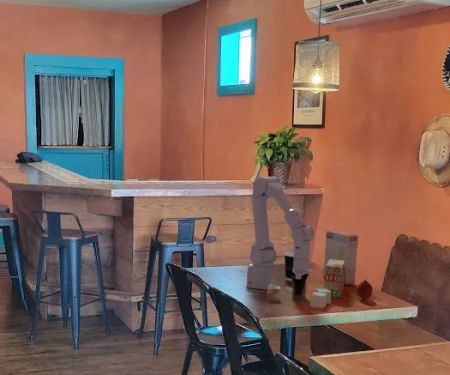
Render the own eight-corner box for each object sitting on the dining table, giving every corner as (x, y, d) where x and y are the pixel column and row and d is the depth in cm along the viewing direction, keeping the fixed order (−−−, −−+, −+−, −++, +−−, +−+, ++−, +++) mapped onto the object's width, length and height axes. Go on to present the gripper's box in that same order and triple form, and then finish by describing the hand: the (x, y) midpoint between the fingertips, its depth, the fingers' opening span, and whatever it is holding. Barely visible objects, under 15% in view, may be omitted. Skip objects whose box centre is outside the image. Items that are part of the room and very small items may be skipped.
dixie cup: (297, 277, 264) (299, 252, 263) (303, 282, 256) (305, 256, 255) (279, 277, 262) (281, 252, 261) (285, 282, 254) (287, 256, 253)
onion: (372, 298, 236) (374, 278, 235) (371, 302, 230) (372, 281, 230) (357, 296, 238) (358, 276, 237) (355, 300, 232) (356, 279, 232)
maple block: (267, 300, 227) (267, 288, 226) (266, 297, 231) (267, 285, 231) (279, 301, 226) (280, 289, 226) (278, 297, 231) (279, 286, 231)
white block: (310, 306, 222) (311, 294, 221) (314, 303, 226) (315, 291, 225) (322, 308, 220) (323, 296, 219) (326, 305, 224) (327, 293, 223)
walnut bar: (292, 298, 230) (293, 283, 229) (293, 295, 234) (294, 280, 234) (304, 300, 229) (305, 284, 228) (305, 297, 233) (306, 281, 233)
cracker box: (355, 284, 256) (359, 235, 254) (344, 285, 253) (348, 235, 251) (333, 276, 268) (336, 229, 266) (322, 277, 265) (325, 229, 263)
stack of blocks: (329, 283, 256) (331, 254, 255) (344, 285, 255) (346, 256, 254) (323, 296, 236) (325, 264, 235) (340, 298, 234) (342, 266, 233)
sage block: (318, 304, 225) (319, 292, 225) (314, 300, 230) (315, 288, 229) (330, 304, 226) (331, 292, 226) (326, 300, 231) (326, 288, 230)
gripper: (310, 263, 222) (307, 299, 224) (313, 255, 236) (311, 289, 238) (290, 261, 224) (288, 297, 225) (295, 253, 238) (293, 287, 239)
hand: (299, 293), depth 231 cm, fingers closed on walnut bar, 4 cm apart
